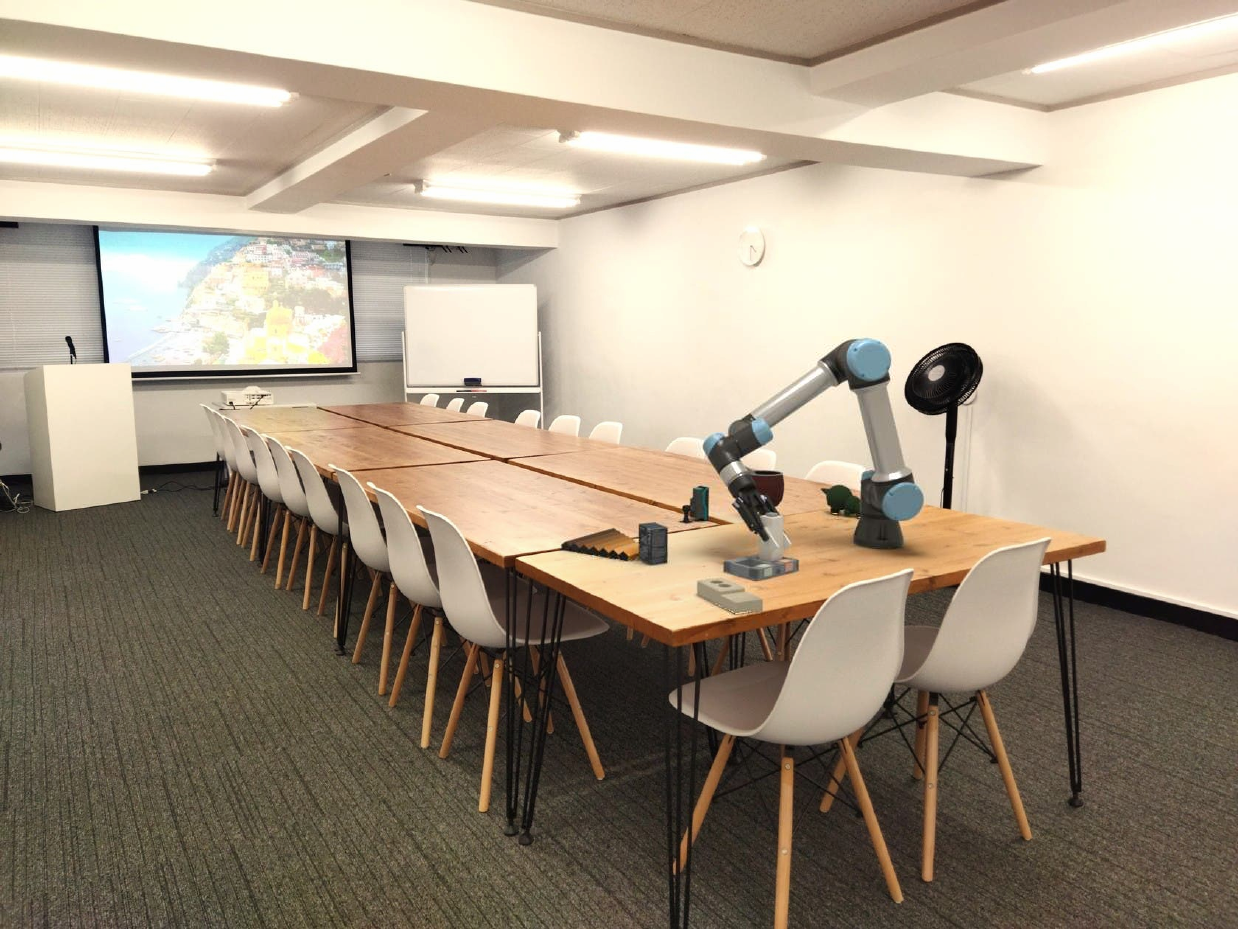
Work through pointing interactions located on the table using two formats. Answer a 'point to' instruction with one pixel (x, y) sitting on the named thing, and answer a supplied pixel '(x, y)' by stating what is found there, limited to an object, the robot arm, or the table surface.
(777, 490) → the mate gourd
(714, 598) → the electrical outlet
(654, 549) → the box
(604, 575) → the table surface
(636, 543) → the pan flute
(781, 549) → the plug
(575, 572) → the table surface
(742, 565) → the socket block
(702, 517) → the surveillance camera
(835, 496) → the toy figurine
